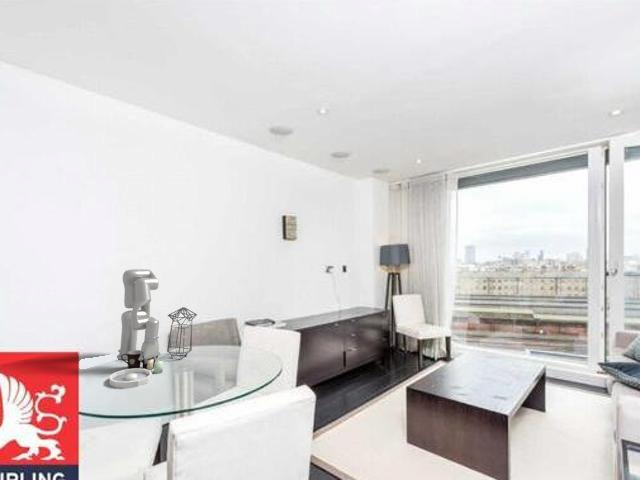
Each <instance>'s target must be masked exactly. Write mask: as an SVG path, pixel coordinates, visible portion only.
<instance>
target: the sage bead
mask: <svg viewBox="0 0 640 480" xmlns="http://www.w3.org/2000/svg"><path fill="white" fill-rule="evenodd" d="M163 368H164V361H162V360H156V361H155V362H154V368H153V374H156V375H158V374H159V375H160V374H162V373H163V370H164V369H163Z"/></svg>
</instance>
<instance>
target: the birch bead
mask: <svg viewBox="0 0 640 480" xmlns="http://www.w3.org/2000/svg"><path fill="white" fill-rule="evenodd" d="M153 362H154V359H153V358H149V359H147V363H146V364H147V370H150V371H152V370H154V368H153Z"/></svg>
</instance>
